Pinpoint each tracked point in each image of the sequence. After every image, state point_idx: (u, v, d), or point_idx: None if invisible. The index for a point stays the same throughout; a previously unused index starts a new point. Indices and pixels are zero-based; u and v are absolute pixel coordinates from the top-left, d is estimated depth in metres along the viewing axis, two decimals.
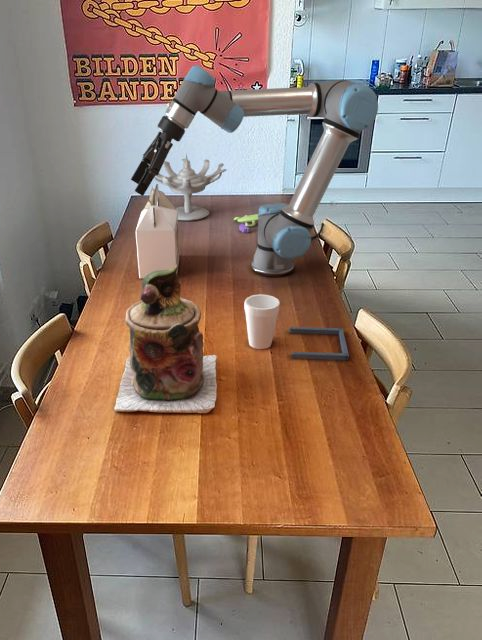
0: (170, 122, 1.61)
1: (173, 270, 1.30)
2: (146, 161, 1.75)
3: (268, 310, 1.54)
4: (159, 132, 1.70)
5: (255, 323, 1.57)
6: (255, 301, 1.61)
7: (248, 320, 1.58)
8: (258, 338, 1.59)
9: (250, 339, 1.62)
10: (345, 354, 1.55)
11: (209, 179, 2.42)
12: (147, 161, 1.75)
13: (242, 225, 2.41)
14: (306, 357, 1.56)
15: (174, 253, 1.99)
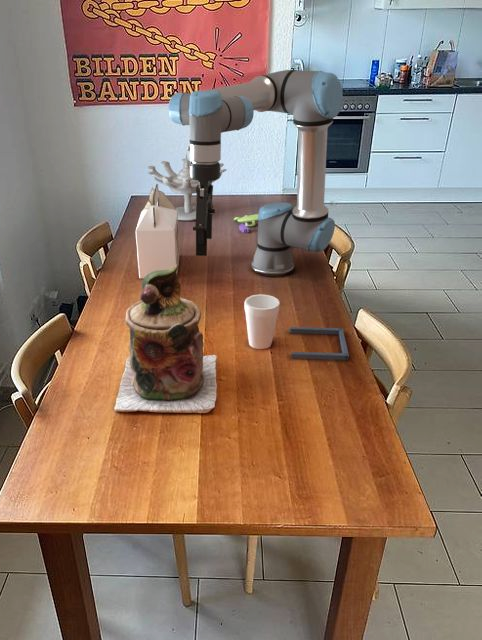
0: (196, 167, 1.38)
1: (173, 270, 1.30)
2: (207, 212, 1.54)
3: (268, 310, 1.54)
4: None
5: (255, 323, 1.57)
6: (255, 301, 1.61)
7: (248, 320, 1.58)
8: (258, 338, 1.59)
9: (250, 339, 1.62)
10: (345, 354, 1.55)
11: None
12: (208, 211, 1.54)
13: (242, 225, 2.41)
14: (306, 357, 1.56)
15: (174, 253, 1.99)
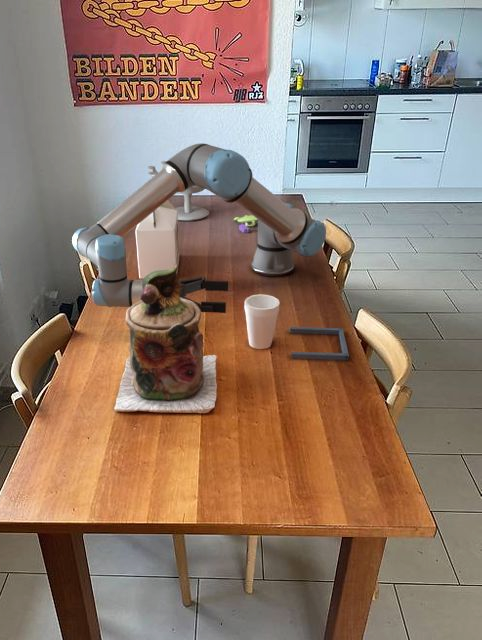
0: None
1: (173, 270, 1.30)
2: (203, 284, 1.64)
3: (268, 310, 1.54)
4: None
5: (255, 323, 1.57)
6: (255, 301, 1.61)
7: (248, 320, 1.58)
8: (258, 338, 1.59)
9: (250, 339, 1.62)
10: (345, 354, 1.55)
11: None
12: (203, 284, 1.64)
13: (242, 225, 2.41)
14: (306, 357, 1.56)
15: (174, 253, 1.99)
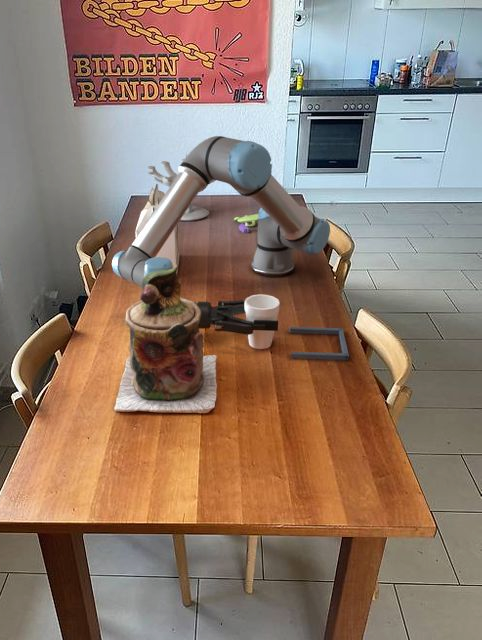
0: None
1: (173, 270, 1.30)
2: None
3: (268, 310, 1.54)
4: None
5: None
6: (255, 301, 1.61)
7: (248, 320, 1.58)
8: (258, 338, 1.59)
9: (250, 339, 1.62)
10: (345, 354, 1.55)
11: None
12: None
13: (242, 225, 2.41)
14: (306, 357, 1.56)
15: (174, 253, 1.99)
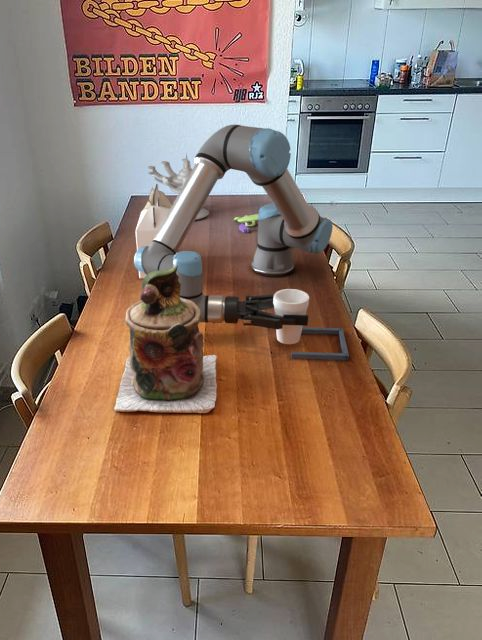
0: (225, 320, 1.58)
1: (173, 270, 1.30)
2: None
3: (298, 305, 1.52)
4: None
5: None
6: (284, 295, 1.59)
7: None
8: (287, 332, 1.58)
9: (278, 334, 1.60)
10: (345, 354, 1.55)
11: None
12: None
13: (242, 225, 2.41)
14: (306, 357, 1.56)
15: None
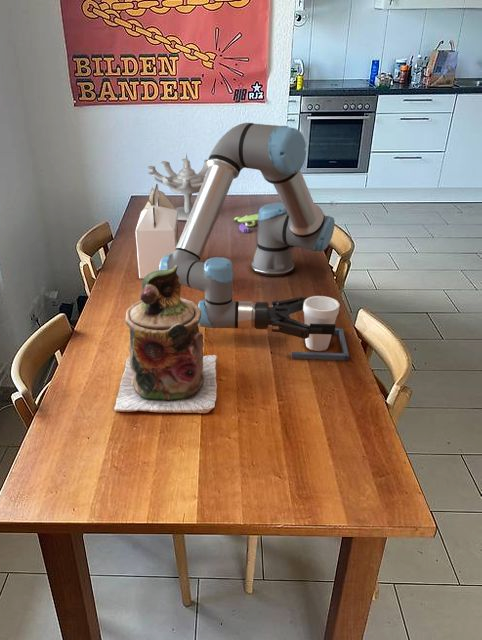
0: (256, 326, 1.58)
1: (173, 270, 1.30)
2: None
3: (329, 312, 1.52)
4: None
5: None
6: (313, 302, 1.60)
7: (307, 322, 1.57)
8: (316, 339, 1.58)
9: (308, 341, 1.60)
10: (345, 354, 1.55)
11: None
12: None
13: (242, 225, 2.41)
14: (306, 357, 1.56)
15: None
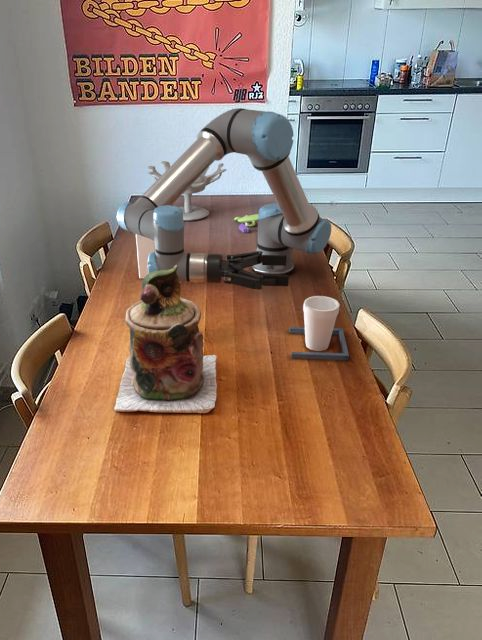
0: (208, 279, 1.52)
1: (173, 270, 1.30)
2: (260, 259, 1.59)
3: (329, 312, 1.52)
4: None
5: (315, 325, 1.55)
6: (313, 302, 1.60)
7: (307, 322, 1.57)
8: (316, 339, 1.58)
9: (308, 341, 1.60)
10: (345, 354, 1.55)
11: (209, 179, 2.42)
12: (260, 258, 1.58)
13: (242, 225, 2.41)
14: (306, 357, 1.56)
15: None
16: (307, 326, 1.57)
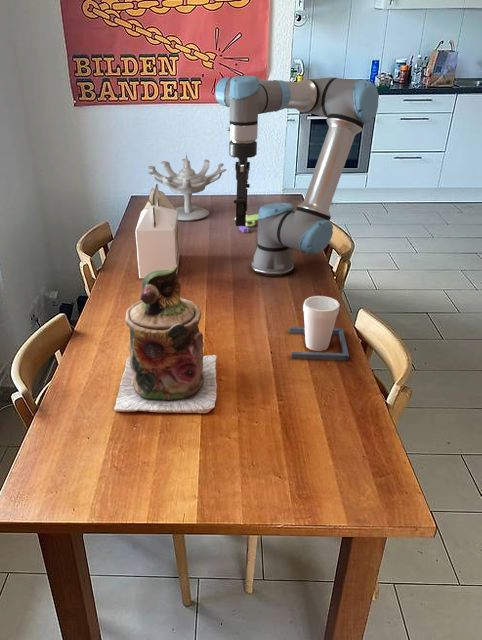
0: (236, 145, 1.54)
1: (173, 270, 1.30)
2: None
3: (329, 312, 1.52)
4: None
5: (315, 325, 1.55)
6: (313, 302, 1.60)
7: (307, 322, 1.57)
8: (316, 339, 1.58)
9: (308, 341, 1.60)
10: (345, 354, 1.55)
11: (209, 179, 2.42)
12: None
13: None
14: (306, 357, 1.56)
15: (174, 253, 1.99)
16: (307, 326, 1.57)
